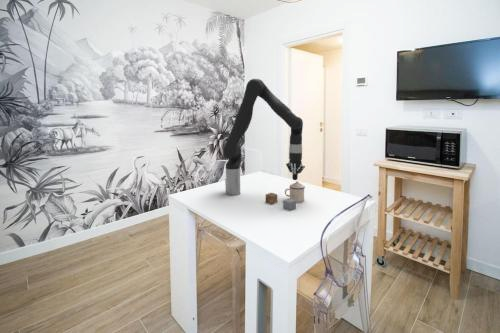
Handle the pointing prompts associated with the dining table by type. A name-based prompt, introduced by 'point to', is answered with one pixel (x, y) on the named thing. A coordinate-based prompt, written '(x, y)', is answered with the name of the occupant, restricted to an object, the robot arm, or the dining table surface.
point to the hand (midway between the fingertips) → (294, 179)
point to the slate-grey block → (289, 204)
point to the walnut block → (271, 198)
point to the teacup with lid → (296, 192)
